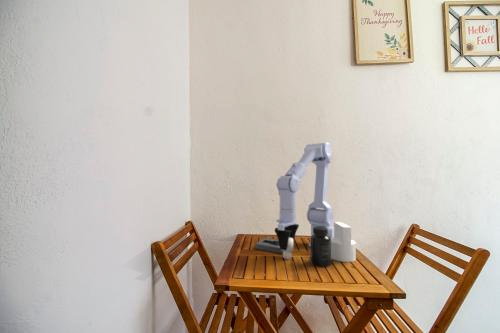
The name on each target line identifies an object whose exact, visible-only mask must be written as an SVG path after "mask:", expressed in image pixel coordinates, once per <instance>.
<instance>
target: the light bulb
mask: <svg viewBox="0 0 500 333" xmlns="http://www.w3.org/2000/svg"><path fill="white" fill-rule="evenodd" d="M281 250H282V249H281ZM282 251H283V254H282V259H283V258H284V259H283V260H286V259H287V260H289V259H290V260H291V259H292V252H293V251H294V243H293V238H291V237H289V240H288V246H287V250H282ZM287 260H286V261H287Z"/></svg>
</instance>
